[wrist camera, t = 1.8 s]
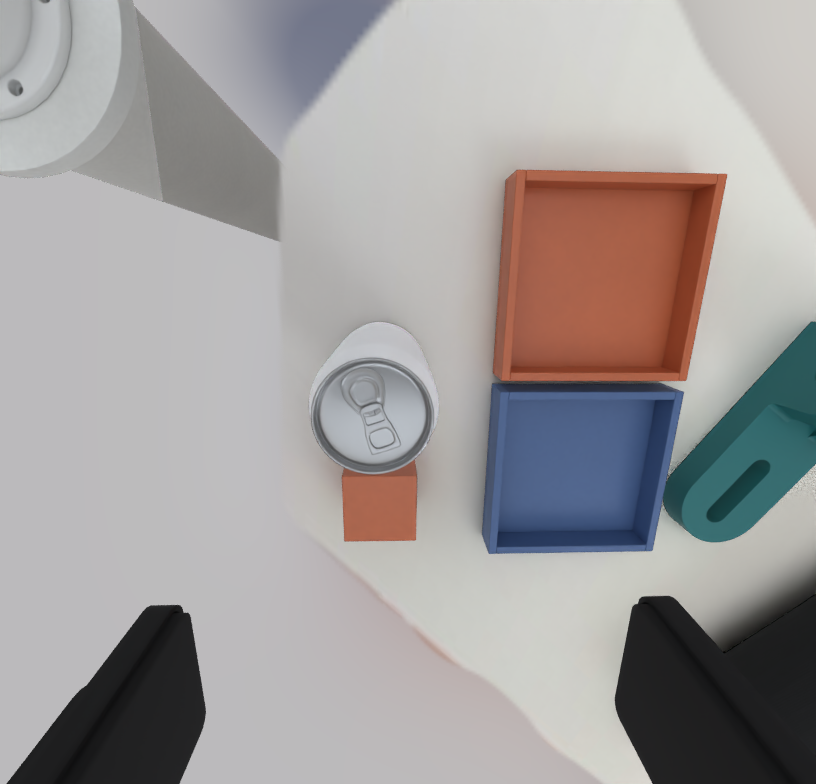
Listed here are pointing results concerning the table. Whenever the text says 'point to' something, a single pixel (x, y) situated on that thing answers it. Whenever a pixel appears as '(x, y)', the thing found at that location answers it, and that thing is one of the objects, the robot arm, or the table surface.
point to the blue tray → (577, 466)
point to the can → (374, 400)
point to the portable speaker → (785, 668)
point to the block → (380, 505)
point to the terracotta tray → (603, 274)
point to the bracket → (751, 451)
